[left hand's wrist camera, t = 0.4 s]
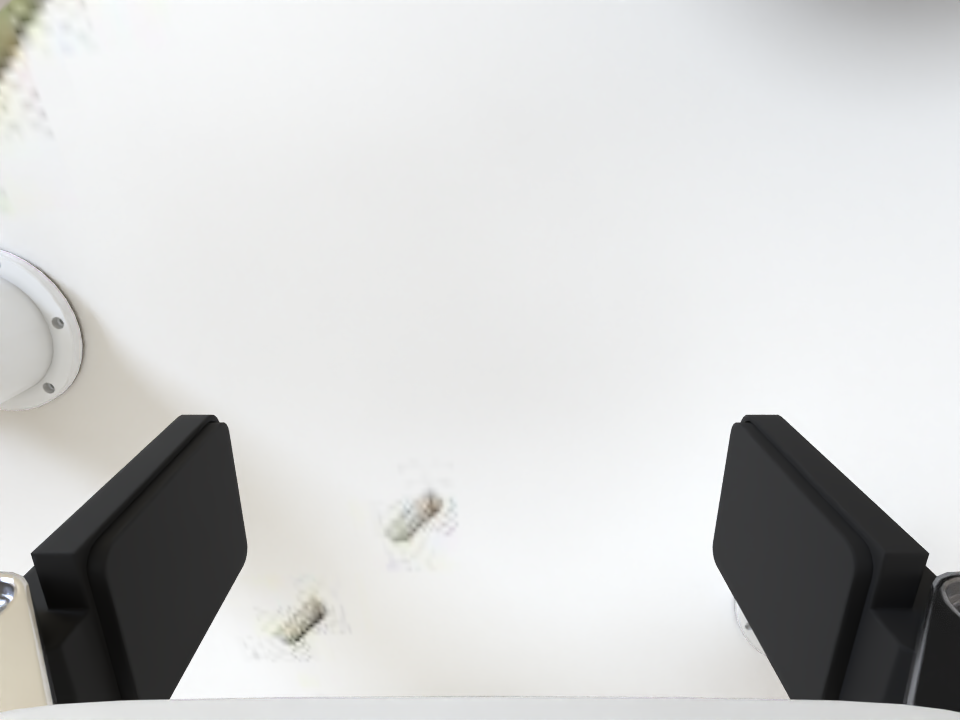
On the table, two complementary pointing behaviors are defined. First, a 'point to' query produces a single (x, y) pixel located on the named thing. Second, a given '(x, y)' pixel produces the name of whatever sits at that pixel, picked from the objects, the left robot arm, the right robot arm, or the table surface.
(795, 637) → the left robot arm
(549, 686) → the table surface
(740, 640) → the table surface
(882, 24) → the table surface
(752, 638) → the right robot arm
